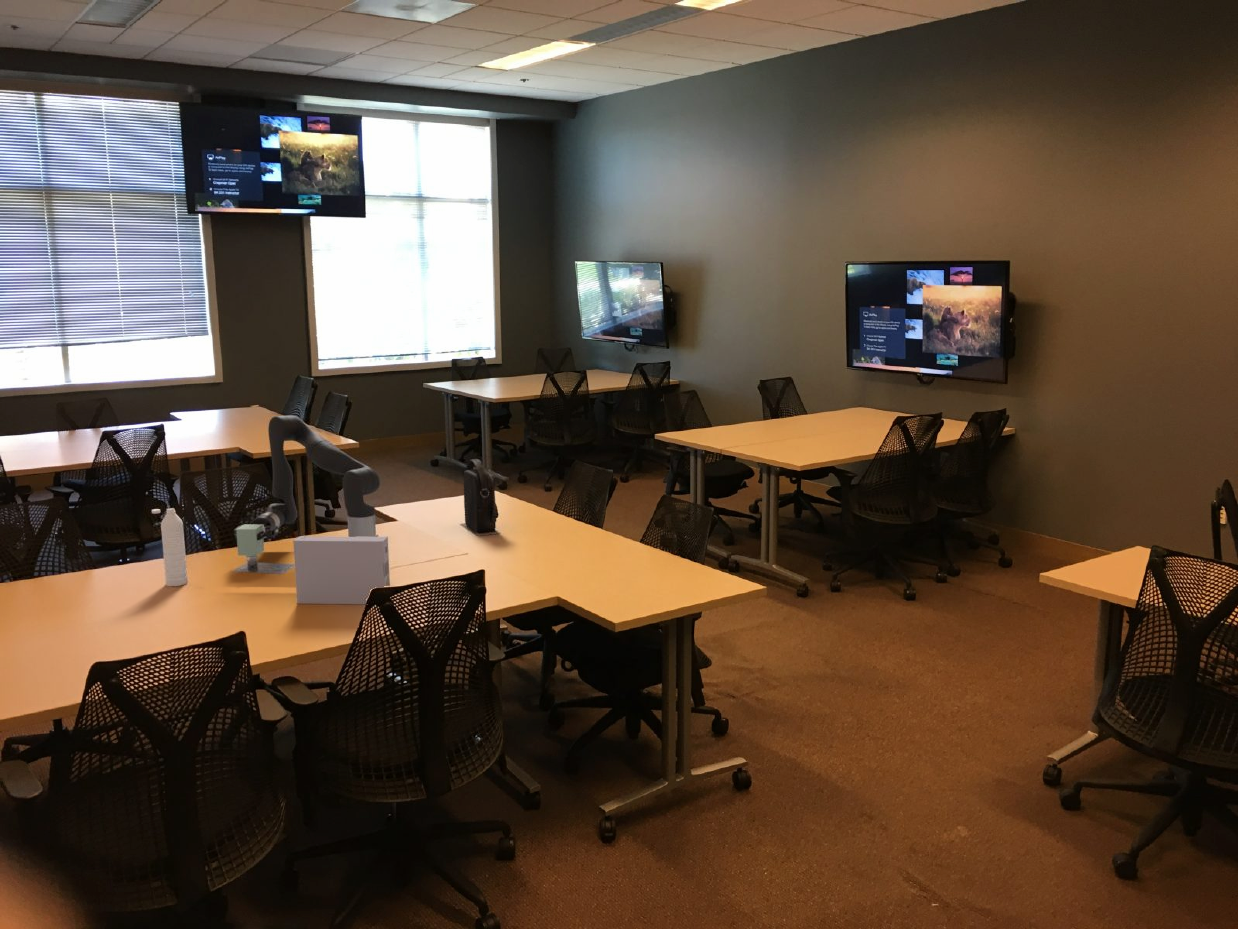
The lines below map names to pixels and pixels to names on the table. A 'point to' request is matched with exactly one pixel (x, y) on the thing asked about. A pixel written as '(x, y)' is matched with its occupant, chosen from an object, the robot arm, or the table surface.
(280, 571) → the post stand
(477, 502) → the shoulder bag
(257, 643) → the table surface
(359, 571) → the game console
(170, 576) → the water bottle
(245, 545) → the pale green block
